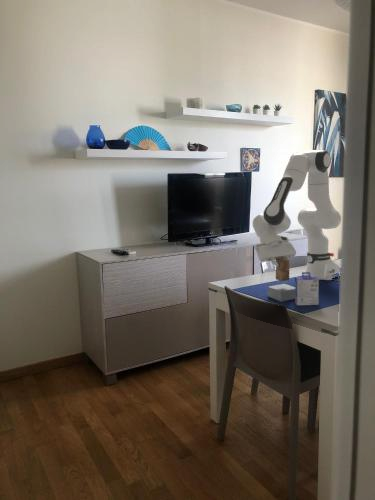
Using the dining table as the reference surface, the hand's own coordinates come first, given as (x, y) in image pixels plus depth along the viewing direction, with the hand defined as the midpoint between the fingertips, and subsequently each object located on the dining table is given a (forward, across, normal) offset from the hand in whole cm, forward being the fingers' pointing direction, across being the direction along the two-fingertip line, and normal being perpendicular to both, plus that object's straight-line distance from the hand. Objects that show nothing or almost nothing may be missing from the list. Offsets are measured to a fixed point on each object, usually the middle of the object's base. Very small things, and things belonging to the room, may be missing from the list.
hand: (283, 265), depth 196 cm
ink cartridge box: (+20, +3, +2) cm, 21 cm away
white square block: (+11, 0, +12) cm, 16 cm away
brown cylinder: (+4, 0, +5) cm, 7 cm away
